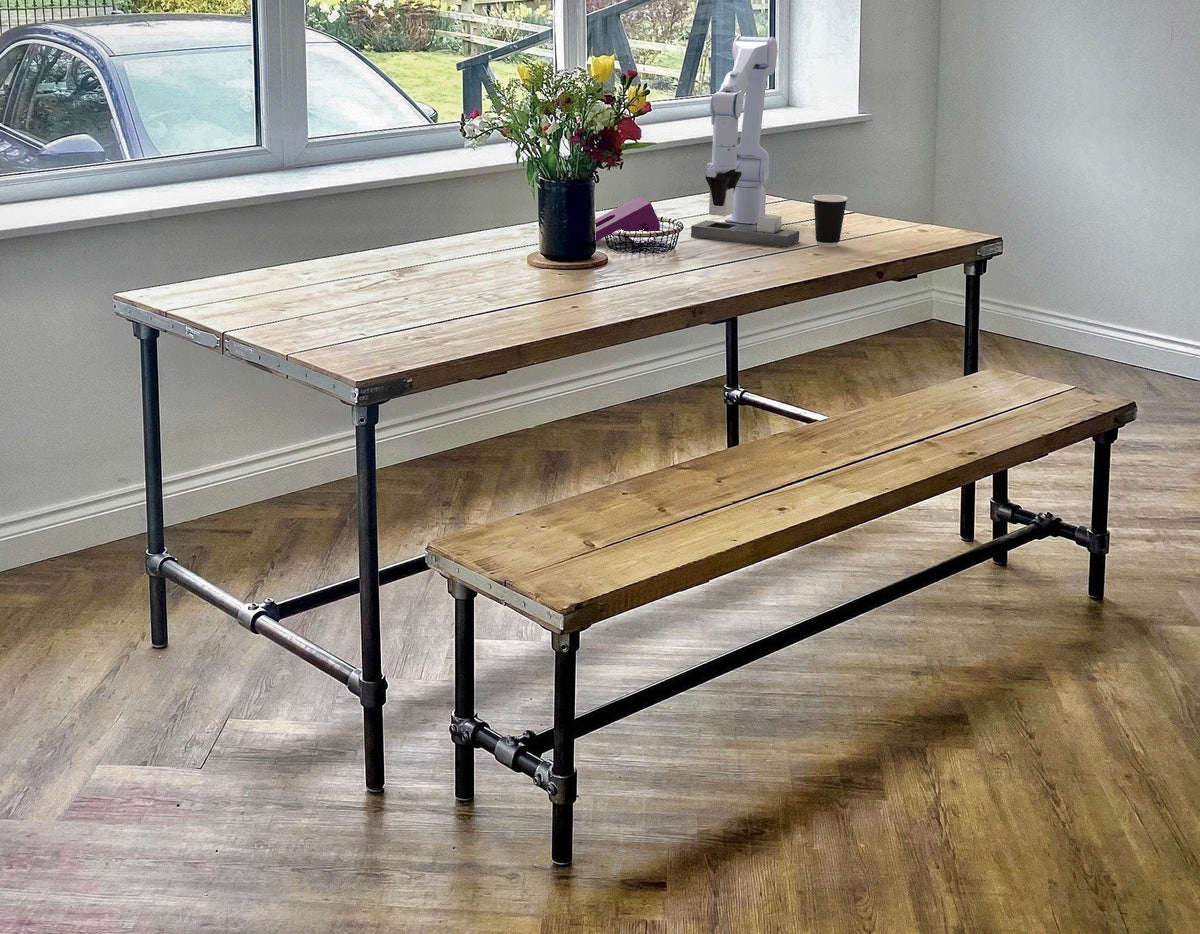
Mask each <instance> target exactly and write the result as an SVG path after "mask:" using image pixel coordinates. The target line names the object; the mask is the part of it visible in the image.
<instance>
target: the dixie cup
mask: <svg viewBox="0 0 1200 934" xmlns="http://www.w3.org/2000/svg"><path fill="white" fill-rule="evenodd" d="M812 199H813V205H814V206H813V207H814V228H815V229H814V230H815V241H816V246H818V245H819V246H818V247H821V246H824V247H823V248H835V246H836V247H838V246H839V242H840V241H841V239H840V238H841V233H842V230H843V229H842V228H843V224H844V223H843V222H844V216H845V213H846V212H845V211H846V206H847V201H848V199H849V198H848V197H847V196H844V195H842V194H841V195H839V194H816V195H813V196H812Z"/></svg>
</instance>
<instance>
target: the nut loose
mask: <svg viewBox="0 0 1200 934" xmlns="http://www.w3.org/2000/svg"><path fill="white" fill-rule="evenodd" d="M733 196H734V188H729V187H726V191H725V198H724V203H723V206H714V204H713V200H712V194H711V190H710V189H709V204H708V205H709V207H708V209H709V210H708V215H711V216H718V217H727V216H731V214H733Z"/></svg>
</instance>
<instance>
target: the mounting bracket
mask: <svg viewBox="0 0 1200 934" xmlns="http://www.w3.org/2000/svg"><path fill="white" fill-rule="evenodd" d="M594 220H595V224H596V241H595V242H598V241H601V240H602V239H604V238H606V237H607V236H609V235H612V234H613V233H615V232H617V231H620V230H619V229H622V230H624V231H639V230H643V229H644V230H643V231H659V232H660V230H661V224H660V220H659V217H658V215H657V213H656V211H655V209H654V207H653V205H652V202H650V201H649V200H647V199H646V198H644V197H643V196H641V195H638V196H637V197H634V198H633V199H630V200H629V201H627V202H625V203H623V204H622V205H620V206H618V207H615V208H613V209H612V210H610V211H608V212H606V213H605V214H603V215H602V214H601V216H599V217H597V218H595V219H594Z"/></svg>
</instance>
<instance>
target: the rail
mask: <svg viewBox="0 0 1200 934" xmlns="http://www.w3.org/2000/svg"><path fill="white" fill-rule="evenodd" d="M690 236H691V237H690V238H697V239H707V240H716V241H723V242H731V243H733V242H734V243H741V244H748V243H750V244H749V245H756V244H758V245H759V246H765V245H768V246H767V247H774V246H779V247H778V248H782V247H787V248H788V246H789V245H791V246H793V245H795V244H797V243H799V242H800V230H798V229H797V230H796V229H785V228H781V232H779V233H777V234H769V233H760V232H757V225H753V224H744V223H735V222H726V221H725V222H724V221H716V220H715V221H713V220H708V219H707V220H703V221H701V222H699V223H696V224H693V225H691V228H690ZM798 241H799V242H798ZM796 242H797V243H796ZM794 243H795V244H794ZM792 244H793V245H792ZM789 247H790V246H789Z"/></svg>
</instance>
